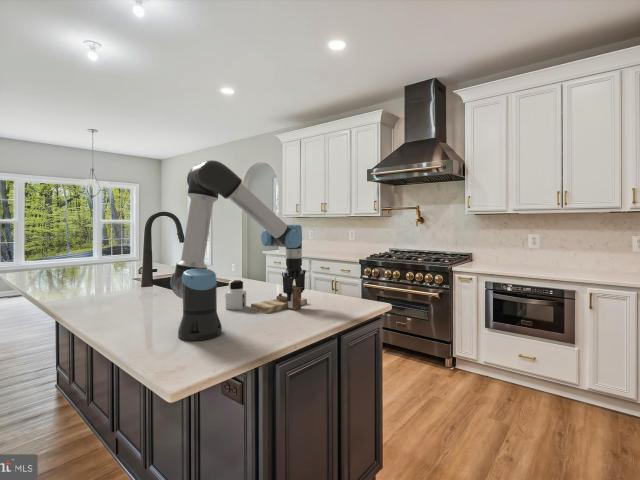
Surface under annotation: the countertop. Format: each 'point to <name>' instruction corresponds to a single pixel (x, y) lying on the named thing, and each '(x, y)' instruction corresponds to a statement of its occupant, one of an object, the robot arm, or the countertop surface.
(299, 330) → the countertop surface
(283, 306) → the board
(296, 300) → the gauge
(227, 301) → the container
